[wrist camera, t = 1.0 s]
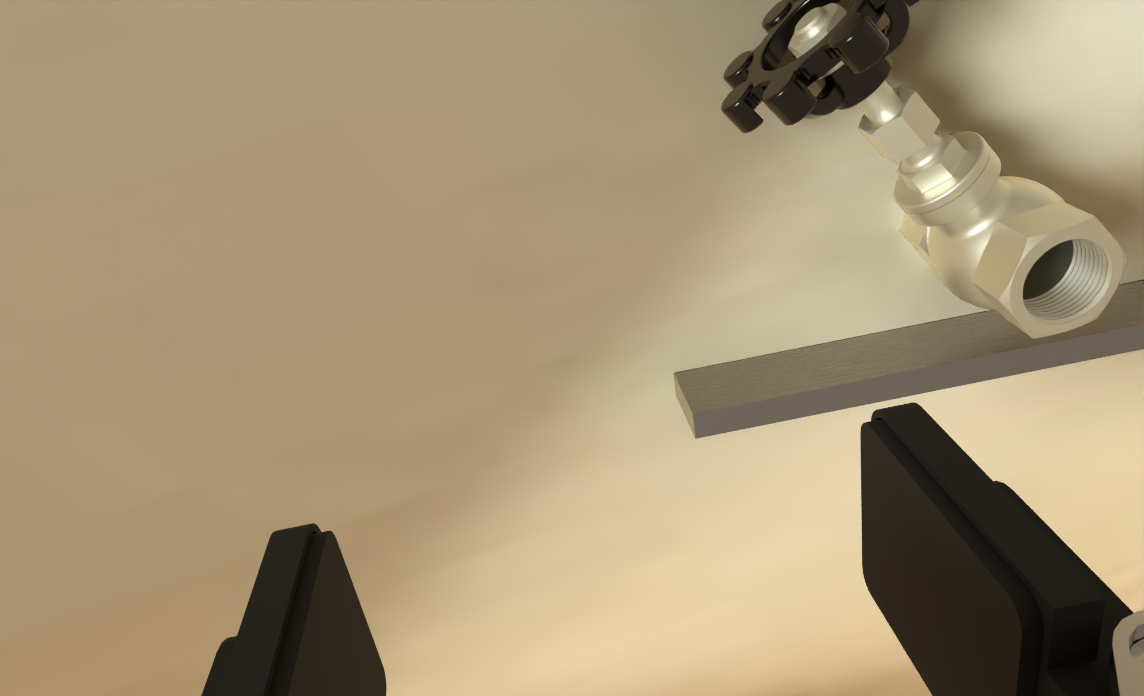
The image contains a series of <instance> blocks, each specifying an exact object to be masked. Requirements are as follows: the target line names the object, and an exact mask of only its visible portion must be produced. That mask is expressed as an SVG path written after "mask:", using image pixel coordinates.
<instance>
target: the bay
mask: <svg viewBox="0 0 1144 696" xmlns="http://www.w3.org/2000/svg"><path fill="white" fill-rule="evenodd" d="M1141 349H1144V280H1142V281H1137V282H1132V283H1127V284H1122V285H1118V287H1117V289H1116V291H1115V293H1114V294H1113V296H1112V298H1111V299H1110V301H1109V303H1108V304H1107V306H1106V307H1105V308H1104V310H1103V311H1102V312H1101V314H1100V315H1099V316H1098V317H1097V319H1095V320H1093V321H1091V322H1089V323H1087V324H1085V325H1083V326H1080V327H1077V328H1074V329H1072V330H1069V331H1066V332H1062V333H1058V334H1055V335H1051V336H1046V337H1041V338H1035V339H1033V338H1032V337H1030V336H1029V335H1027V334H1026V333H1025V332H1023V331H1022V330H1020V329H1019V328H1018V327H1016V326H1015V325H1013V324H1012V323H1011V322H1009V321H1008V320H1006V319H1005V318H1004V317H1003V316H1002V315H1001V314H1000V313H999V311H998V310H991V311H986V312H981V313H976V314H971V315H966V316H961V317H956V318H951V319H946V320H941V321H935V322H930V323H925V324H920V325H915V326H910V327H905V328H900V329H895V330H890V331H885V332H880V333H875V334H870V335H865V336H860V337H855V338H850V339H845V340H840V341H835V342H830V343H824V344H819V345H814V346H809V347H804V348H799V349H794V350H789V351H784V352H779V353H774V354H769V355H764V356H759V357H754V358H749V359H744V360H739V361H734V362H729V363H724V364H719V365H713V366H708V367H703V368H698V369H693V370H688V371H683V372H678V373H674V379H675V387H676V395H677V398H678V401H679V403H680V405H681V407H682V410H683V412H684V414H685V416H686V418H687V421H688V423H689V425H690V427H691V430H692V432H693V434H694V436H695V439H696V438H701V437H706V436H711V435H716V434H721V433H726V432H731V431H736V430H741V429H746V428H751V427H756V426H761V425H766V424H771V423H776V422H781V421H786V420H791V419H796V418H801V417H806V416H811V415H816V414H821V413H826V412H831V411H836V410H841V409H846V408H851V407H856V406H861V405H866V404H871V403H876V402H881V401H886V400H891V399H896V398H901V397H906V396H911V395H916V394H921V393H926V392H931V391H936V390H941V389H946V388H951V387H956V386H961V385H966V384H971V383H976V382H981V381H986V380H991V379H996V378H1001V377H1006V376H1011V375H1016V374H1021V373H1026V372H1031V371H1036V370H1041V369H1046V368H1051V367H1056V366H1061V365H1066V364H1071V363H1076V362H1081V361H1086V360H1091V359H1096V358H1101V357H1106V356H1111V355H1116V354H1121V353H1126V352H1131V351H1136V350H1141Z"/></svg>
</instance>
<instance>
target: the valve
mask: <svg viewBox="0 0 1144 696" xmlns="http://www.w3.org/2000/svg"><path fill="white" fill-rule="evenodd" d="M839 1H840V0H798V1H797V2H795V3H794V2H793V0H782V1H780V2H779V3H778V4H776V5H775V6H774V7H773V8H772V9H771V10H770V11H769V12H768V14H767V15H766V16H765V18H764V19H763V22H762V27H763V28H764V29H765V30H766V32H767V33H768V35H767V36H766V37H765V39H764V40H763V41H762V43H761V44H760V45H759V46H758V47H757V48H756V49H755V50H754V51H752V52H751V51H746V52H744V53H742V54H741V55H739V56H738V57H737V58H736V59H735V60H734V61H733V62H732V63H731V64H730V65H729V66H728V68H727V69H726V71H725V73H724V76H723V77H724V80H725V81H726V82H727V83H728V84H729V86H730V87H731V88H732V89H733V90H732V91H731V92H730V93H729V95H728V96H727V97H726V98H725V100H724V101H723V103H722V106H721V111H722V112H723V113H724V114H725V115H726V116H727V117H728V118H729V119H730V120H731V121H732V123H733V124H734V125H735V126H736V127H737V128H738V129H739V130H740V131H741V132H742V133H748V132H751V131H753V130H754V129H756V128H757V127H758V126H759V125H761V124H762V123H763V119H762V118H761V117H760V116H759V115H758V114H757V113H756V112H755V111H754V110H755V109H756V107H757V106H758V105H759V104H760V103H761V102H762V101H763V102H764V103H765V104H766V105H767V106H768V108H769V109H770V110H771V111H772V112H773V113H774V114H775V115H776V116H777V117H778V118H779V119H780V120H781V121H782V122H783V123H784V124H785V125H793V124H795V123H797V122H799V121H800V120H802V119H803V118H808V119H813V118H818V117H821V116H824V115H828V114H830V113H832V112H833V111H834V110H836V109H839V110H843V109H847V108H850V107H853V106H855V105H857V106H858V107H859V108H860V109H861V111H862V112H863V113H864V115H863V117H862V119H861V121H860V124H859V127H858V129H859V130H860V132H861V133H862V134H863V135H864V136H865V137H866V138H867V139H868V140H869V142H870V143H871V144H872V145H873V146H874V147H875V148H876V149H877V151H878V152H879V153H880V154H881V155H882V156H883V157H885V158H887V159H889V160H891V161H893V162H894V163H896V164H897V163H898V162H900V161H901V162H900V164H899V166H898V169H897V173H898V174H899V175H900V176H899V177H898V179H897V181H896V184H895V187H894V199H895V201H896V203H897V204H898V205H899V206H900V207H901V209H902V210H903V211H904V212H905V213H906V214H905V216H904V219H903V221H902V223H901V226H900V229H899V232H900V233H901V234H902V235H903V237H904V238H905V239H906V240H907V241H908V242H909V243H910V244H911V245H912V246H913V247H914V248H915V249H916V251H917V252H918V253H919V254H920V255H921V256H922V257H923V258H924V259H925V260H926V261H927V262H928V263H929V264H930V265H931V266H932V267H933V268H934V270H935V272H936V274H937V276H938V278H939V279H940V280H941V282H942V283H943V284H944V285H945V286H946V287H947V288H948V289H949V290H950V291H951V292H952V293H953V294H954V295H956V296H957V297H959V298H960V299H962V300H964V301H965V302H967V303H970V304H972V305H975V306H978V307H981V308H985V309H991V310H998V311H999V313H1000V314H1001V315H1002V316H1003V317H1004V318H1005V319H1006V320H1008V321H1009V322H1011V323H1012V324H1013V325H1015V326H1016V327H1018V328H1019V329H1020V330H1022V331H1023V332H1025V333H1026V334H1027V335H1029V336H1030V337H1032V338H1033V339H1035V338H1041V337H1046V336H1051V335H1055V334H1058V333H1062V332H1066V331H1069V330H1072V329H1074V328H1077V327H1080V326H1083V325H1085V324H1087V323H1089V322H1091V321H1093V320H1095V319H1097V317H1098V316H1099V315H1100V314H1101V312H1102V311H1103V310H1104V308H1105V307H1106V306H1107V304H1108V303H1109V301H1110V299H1111V298H1112V296H1113V294H1114V293H1115V291H1116V289H1117V287H1118V284H1119V282H1120V280H1121V278H1122V275H1123V273H1124V270H1125V267H1126V264H1127V260H1128V257H1127V256H1126V254H1125V252H1124V251H1123V249H1122V248H1121V247H1120V245H1119V244H1118V242H1117V241H1116V240H1115V238H1114V237H1113V236H1112V235H1111V234H1110V232H1109V231H1108V230H1107V229H1106V228H1105V227H1104V225H1103V224H1102V223H1101V222H1100V221H1099V220H1098V219H1097V218H1096V217H1095V216H1094V215H1092V214H1089V213H1087V212H1085V211H1083V210H1080V209H1078V208H1076V207H1074V206H1071V205H1069V204H1067V203H1065V201H1064V200H1063V199H1062V198H1061V197H1060V196H1059V195H1058V194H1057V193H1055V192H1054V191H1053V190H1051V189H1050V188H1048V187H1046V186H1045V185H1043V184H1040V183H1038V182H1036V181H1033V180H1030V179H1026V178H1022V177H1014V176H1000V171H1001V162H1000V159H999V157H998V156H997V155H996V153H995V152H994V151H993V150H992V148H991V147H990V146H989V145H988V144H987V142H986V141H985V140H984V139H983V137H982V136H981V135H979V134H978V133H976V132H971V131H962V132H957V133H953V134H950V135H948V134H946V133H944V132H936V133H934V132H935V130H936V128H937V127H938V125H939V123H940V122H941V121H940V120H939V119H938V117H937V116H936V115H935V114H934V113H933V111H932V110H931V109H930V108H929V107H928V105H927V104H926V103H925V102H924V101H923V99H922V98H921V97H920V96H919V95H918V93H917V92H916V91H914V90H912V89H910V88H908V87H905V86H900V87H897V88H895V89H892V88H891V87H890V85H889V84H888V83H887V82H886V81H885V79H886V78H887V76H888V75H889V73H890V71H891V68H892V65H893V61H892V58H891V56H890V55H889V54H890V53H892V52H893V51H894V50H895V49H897V48H898V46H899V45H900V44H901V43H902V42H903V40H904V38H905V37H906V35H907V32H908V29H909V24H910V9H909V7H910V6H912V5H914V4H915V3H917V2H918V1H919V0H856V1H855V2H854V4H853V5H852V6H851V8H850V9H849V10H848V12H846V10H845V9H844V8H843V7H842V6H840V5H838V4H835V3H837V2H839ZM884 12H885V13H886V14H887V15H888V17H889V19H890V21H889V23H888V25H887V26H886V28H884V29H883V30H882V31H881V30H880V29H879V28H878V26H877V25H876V23H877V21H878V20H879V19H880V17H881V16H882V14H883V13H884ZM788 48H789V50H790V51H791V52H792V53H793V54H794V55H795V56H796V57H797V59H796V60H794V61H793V62H791V63H789V64H787V65H785V66H783V67H781V68H779V69H777V66H778V64H779V62H780V60H781V58H782V57H783V55H784V54H785V52H786V51H787V49H788ZM810 84H813V85H814V86H815V87H816V88H817V89H818V90H819V91H820V93H819V95H818V96H817V97H815V96H814V95H813V94H812V93H811V92H810V91H809V90H808V89H807V86H809V85H810Z"/></svg>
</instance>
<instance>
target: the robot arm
mask: <svg viewBox="0 0 1144 696" xmlns="http://www.w3.org/2000/svg"><path fill="white" fill-rule="evenodd" d="M861 500H862V567H863V574H864V579H865V582H866V585H867V587H868V590H869V592H870V594H871V596H872V597H873V599H874V601H875V602H876V604H877V605H878V607H879V609H880V610H881V612H882V614H883V615H884V617H885V619H886V620H887V622H888V623H889V625H890V627H891V628H892V630H893V632H894V633H895V635H896V637H897V638H898V640H899V641H900V643H901V645H902V646H903V648H904V650H905V651H906V653H907V655H908V656H909V658H910V659H911V661H912V663H913V664H914V666H915V668H916V669H917V671H918V673H919V674H920V676H921V677H922V679H923V681H924V682H925V684H926V686H927V687H928V689H929V691H930V692H931V694H932V695H933V696H1144V610H1143V611H1138V612H1135V613H1133V612H1132V611H1131V610H1130V609H1129V608H1128V607H1127V606H1126V605H1125V604H1124V603H1123V602H1122V601H1121V600H1120V599H1119V598H1118V597H1117V596H1116V595H1115V593H1114V592H1113V591H1112V590H1111V589H1110V588H1109V587H1108V586H1107V585H1106V584H1105V583H1104V582H1103V581H1102V580H1101V579H1100V578H1099V577H1098V576H1097V575H1096V574H1095V573H1094V572H1093V571H1092V570H1091V569H1090V568H1089V567H1088V566H1087V565H1086V564H1085V563H1084V562H1083V561H1082V560H1081V559H1080V558H1079V557H1078V556H1077V555H1076V554H1075V553H1074V552H1073V551H1072V550H1071V549H1070V548H1069V547H1068V546H1067V545H1066V544H1065V543H1064V542H1063V541H1062V540H1061V539H1060V538H1059V537H1058V536H1057V535H1056V534H1055V533H1054V531H1053V530H1052V529H1051V528H1050V527H1049V526H1048V525H1047V524H1046V523H1045V522H1044V521H1043V520H1042V519H1041V518H1040V517H1039V516H1038V515H1037V514H1036V513H1035V512H1034V511H1033V510H1032V509H1031V508H1030V507H1029V506H1028V505H1027V504H1026V503H1025V502H1024V501H1023V500H1022V499H1021V498H1020V497H1019V496H1018V495H1017V494H1016V493H1015V492H1014V491H1013V490H1012V489H1011V488H1010V487H1008V486H1007V485H1006V484H1004V483H1002V482H998V481H992V480H991V479H990V478H989V477H988V476H987V475H986V474H985V472H984V471H983V470H982V469H981V468H980V467H979V466H978V465H977V464H976V463H975V462H974V461H973V460H972V459H971V458H970V457H969V456H968V455H967V454H966V453H965V452H964V451H963V450H962V449H961V448H960V447H959V445H958V444H957V443H956V442H955V441H954V440H953V439H952V438H951V437H950V436H949V435H948V434H947V433H946V432H945V431H944V430H943V429H942V428H941V427H940V426H939V425H938V424H937V423H936V422H935V421H934V420H933V419H932V417H931V416H930V415H929V414H928V413H927V412H926V411H925V410H924V409H923V408H922V407H921V406H920V405H918V404H917V403H908V404H903V405H898V406H893V407H888V408H883V409H878V410H875V411H874V412H873V414H872V418H871V422H866V423H863V424H862V426H861ZM202 696H386V678H385V672H384V668H383V665H382V662H381V659H380V656H379V654H378V651H377V648H376V646H375V643H374V640H373V637H372V635H371V632H370V629H369V627H368V624H367V621H366V618H365V616H364V613H363V610H362V608H361V605H360V602H359V599H358V597H357V594H356V591H355V589H354V586H353V583H352V580H351V578H350V575H349V572H348V570H347V567H346V564H345V561H344V559H343V556H342V553H341V551H340V548H339V545H338V542H337V540H336V537H335V535H334V534H333V532H332V531H326V532H321V531H320V529H319V527H318V526H317V525H316V524H308V525H303V526H298V527H293V528H288V529H283V530H278V531H275V532H273V533H272V535H271V537H270V539H269V542H268V545H267V548H266V551H265V554H264V557H263V560H262V563H261V566H260V569H259V572H258V575H257V578H256V581H255V584H254V587H253V590H252V593H251V596H250V599H249V602H248V605H247V608H246V611H245V614H244V617H243V620H242V623H241V626H240V629H239V632H238V635H237V636H235V637H230V638H227V639H226V640H225V641H223V642H222V643H221V645H220V647H219V649H218V651H217V653H216V656H215V659H214V662H213V665H212V668H211V670H210V673H209V676H208V679H207V682H206V684H205V687H204V690H203V693H202Z"/></svg>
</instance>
